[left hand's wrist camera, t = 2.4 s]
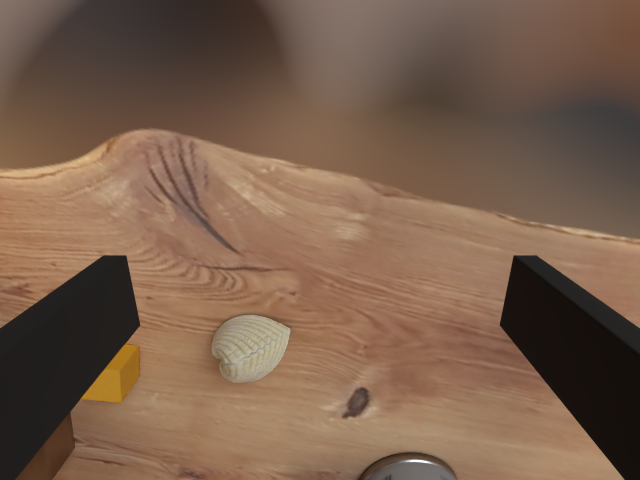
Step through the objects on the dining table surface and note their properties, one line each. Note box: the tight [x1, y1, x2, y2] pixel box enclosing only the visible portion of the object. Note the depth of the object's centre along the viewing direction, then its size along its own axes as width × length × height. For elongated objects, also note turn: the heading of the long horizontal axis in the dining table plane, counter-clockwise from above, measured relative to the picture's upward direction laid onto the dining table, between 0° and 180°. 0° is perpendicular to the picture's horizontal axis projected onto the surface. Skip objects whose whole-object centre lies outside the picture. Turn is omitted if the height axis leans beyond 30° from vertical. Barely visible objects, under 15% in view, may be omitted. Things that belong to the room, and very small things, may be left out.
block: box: [81, 344, 140, 403], centre depth 45 cm, size 5×5×5 cm
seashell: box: [211, 315, 291, 383], centre depth 44 cm, size 8×8×8 cm
